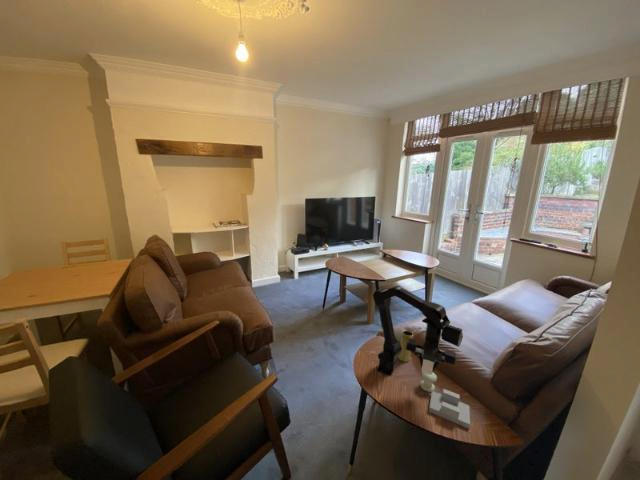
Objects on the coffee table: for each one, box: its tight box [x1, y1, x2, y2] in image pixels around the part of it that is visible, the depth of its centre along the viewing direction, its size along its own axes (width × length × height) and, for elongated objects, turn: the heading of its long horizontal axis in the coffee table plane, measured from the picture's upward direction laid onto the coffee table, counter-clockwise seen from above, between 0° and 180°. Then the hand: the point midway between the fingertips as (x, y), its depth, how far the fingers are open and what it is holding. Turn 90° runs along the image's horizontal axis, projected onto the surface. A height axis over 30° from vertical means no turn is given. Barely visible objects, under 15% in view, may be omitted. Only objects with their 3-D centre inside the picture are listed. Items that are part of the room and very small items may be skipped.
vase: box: [397, 330, 414, 363], centre depth 134 cm, size 6×6×14 cm
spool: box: [419, 371, 438, 393], centre depth 116 cm, size 6×6×6 cm
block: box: [421, 359, 434, 375], centre depth 111 cm, size 4×4×6 cm
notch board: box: [428, 388, 471, 430], centre depth 104 cm, size 14×10×5 cm
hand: (427, 368), depth 111 cm, fingers closed on block, 4 cm apart
